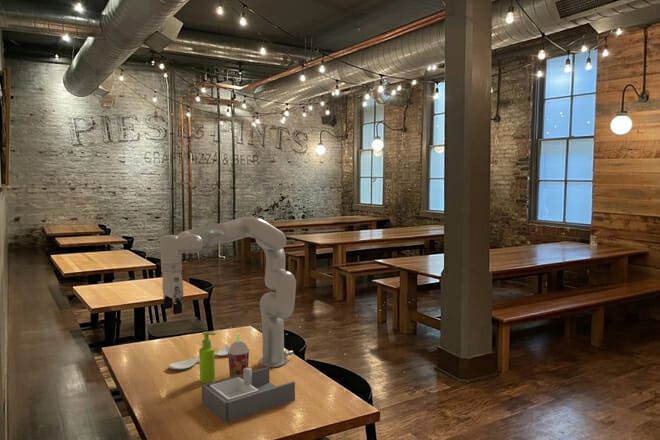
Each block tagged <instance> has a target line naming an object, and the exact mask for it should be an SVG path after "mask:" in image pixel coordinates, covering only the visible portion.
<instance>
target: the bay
mask: <svg viewBox="0 0 660 440" xmlns="http://www.w3.org/2000/svg"><path fill="white" fill-rule="evenodd" d="M237 377H240V378H241V379H243V374H241V375H237V376H233V377H230V376H229V377H227V378H224V379H220V380H216V381H215V380H214V381H213V382H210V383H203V384H201V394H202V395H201V402H202V405H204V407H206V408H207V409H208V410H209V411H211V412H212V413H213V414H214V415H215V416H217V417H218V418H219V419H220V420H221V421H223V422H224V423H225V424H228V423H229V424H230V423H233V422H235V421H238V420H241V419H243V418H247V417H249V416H253V415H255V414H256V415H257V414H258V413H262V412H264V411H267V410H271V409H273V408H276V407H279V406H283V405H285V404H288V403H291V402H294V401H296V382H295V380H294V381H293V380H292V381H290V382H286V383H283V384H279V385H277V386H276V385H275V384H273V383H272V382H270V367H264V368H259V369H256V370H252V384H251V385H252V386H254V387H255V388H257V389H258V390H259V392H257V393H253V394H250V395H247V396H244V397H240V398H237V399H234V400H231V401H226V400H224V399H223V398H222V397H220V396H219V395H218V394H216V393H215V392H214V391H212V390H211V389H210V388H209V385H212V384H216V383H219V382H223V381H226V380H230V379H234V378H237Z"/></svg>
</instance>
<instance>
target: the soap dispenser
mask: <svg viewBox="0 0 660 440" xmlns="http://www.w3.org/2000/svg"><path fill="white" fill-rule="evenodd" d="M201 335H203V338H204V339H203V340H201V345H202V347H200V348H199V349H198V351H199V352H198V353H199V381H200V383H203V384H208V383H212V382H215V380H216V373H215V369H216V368H215V366H216V365H215V363H216V362H215V355H214V353H215V347H213V346H212V341H211V339H210V337H209V336H213V337H214V336H216V335H217V333H216V332H213V331H203V332H202V333H201Z"/></svg>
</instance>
